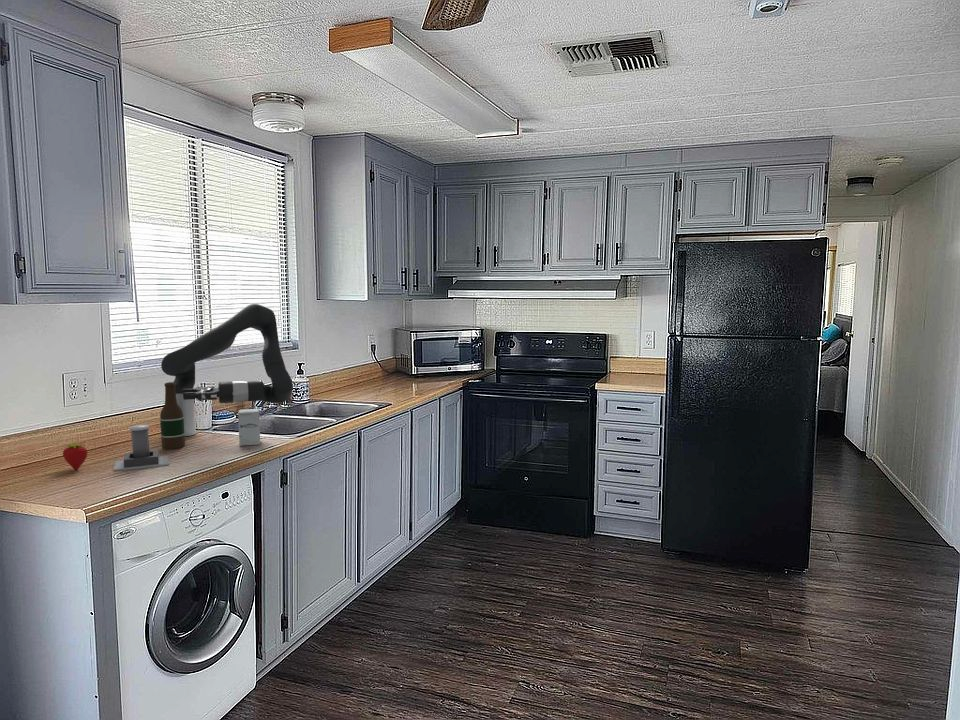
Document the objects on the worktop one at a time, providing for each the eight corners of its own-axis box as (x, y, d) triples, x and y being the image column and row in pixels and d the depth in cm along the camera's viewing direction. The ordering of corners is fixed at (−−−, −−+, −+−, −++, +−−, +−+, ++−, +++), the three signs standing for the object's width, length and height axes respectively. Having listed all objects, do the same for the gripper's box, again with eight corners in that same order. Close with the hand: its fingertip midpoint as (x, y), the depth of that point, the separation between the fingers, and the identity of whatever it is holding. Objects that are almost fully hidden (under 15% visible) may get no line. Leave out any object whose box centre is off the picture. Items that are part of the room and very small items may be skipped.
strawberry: (73, 466, 222) (71, 436, 221) (93, 467, 221) (91, 437, 220) (59, 471, 217) (56, 440, 216) (79, 472, 215) (77, 441, 214)
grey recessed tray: (115, 463, 227) (115, 453, 226) (168, 457, 233) (167, 448, 233) (113, 471, 216) (112, 461, 215) (168, 465, 222) (168, 456, 222)
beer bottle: (173, 450, 244) (169, 384, 242) (157, 449, 247) (153, 383, 244) (189, 445, 251) (186, 381, 249) (173, 444, 254) (169, 380, 252)
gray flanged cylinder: (132, 461, 226) (129, 426, 225) (151, 459, 228) (149, 424, 227) (131, 465, 221) (129, 428, 220) (151, 463, 223) (148, 427, 222)
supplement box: (238, 446, 249) (237, 412, 248) (240, 442, 256) (238, 409, 255) (259, 445, 251) (258, 411, 250) (260, 440, 258) (259, 408, 257)
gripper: (231, 378, 243) (182, 380, 236) (235, 384, 230) (183, 386, 223) (231, 399, 244) (182, 401, 237) (235, 406, 231) (183, 408, 224)
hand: (182, 394), depth 230 cm, fingers open, 8 cm apart
